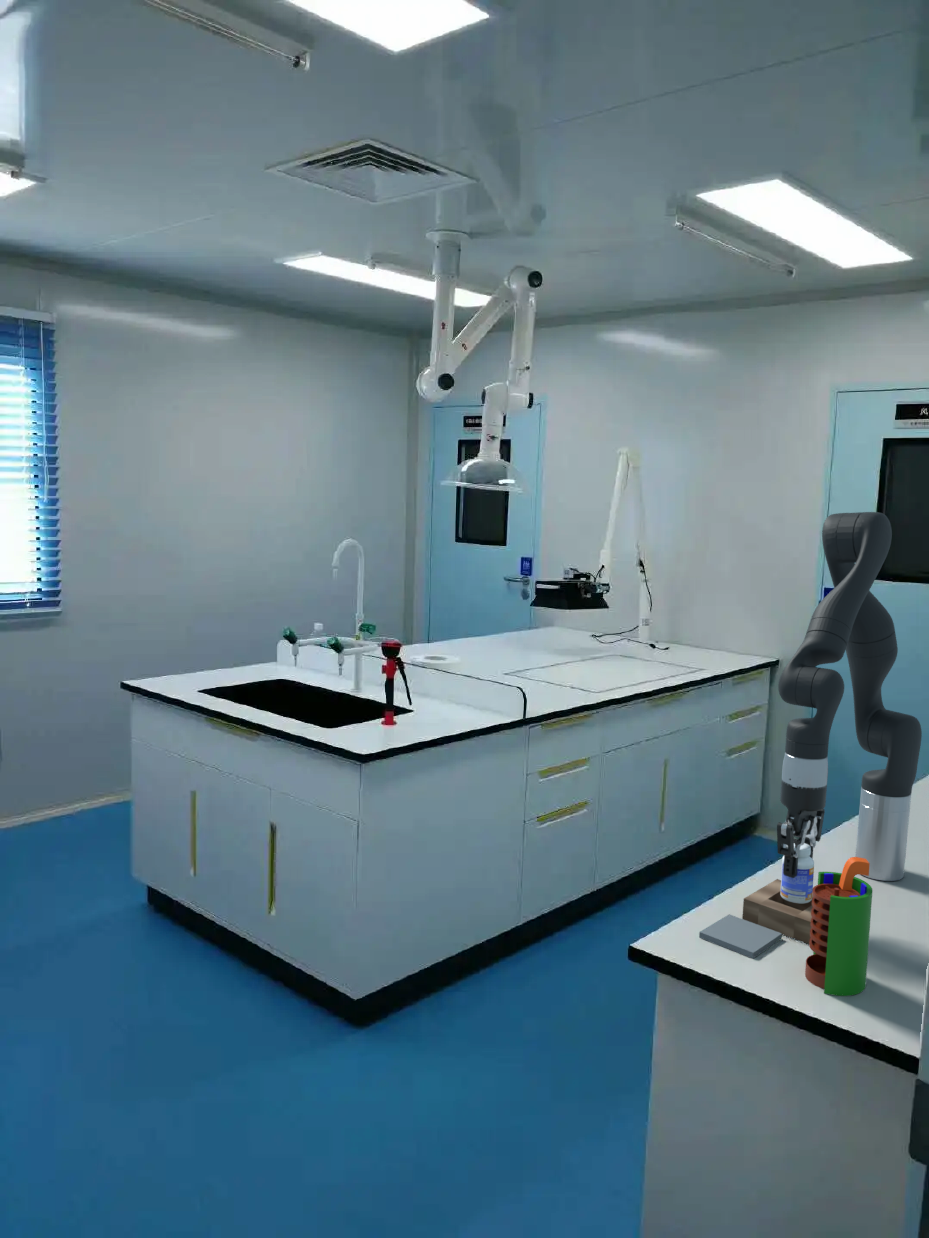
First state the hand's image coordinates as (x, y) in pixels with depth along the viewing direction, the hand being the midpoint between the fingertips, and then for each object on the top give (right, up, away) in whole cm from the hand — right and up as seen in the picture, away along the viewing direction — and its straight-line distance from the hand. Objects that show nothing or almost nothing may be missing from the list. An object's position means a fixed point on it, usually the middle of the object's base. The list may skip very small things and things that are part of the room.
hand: (797, 870), depth 171 cm
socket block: (-1, -9, +1) cm, 9 cm away
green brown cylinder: (-1, -12, -19) cm, 22 cm away
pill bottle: (0, -5, +1) cm, 5 cm away
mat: (-12, -10, -6) cm, 16 cm away
